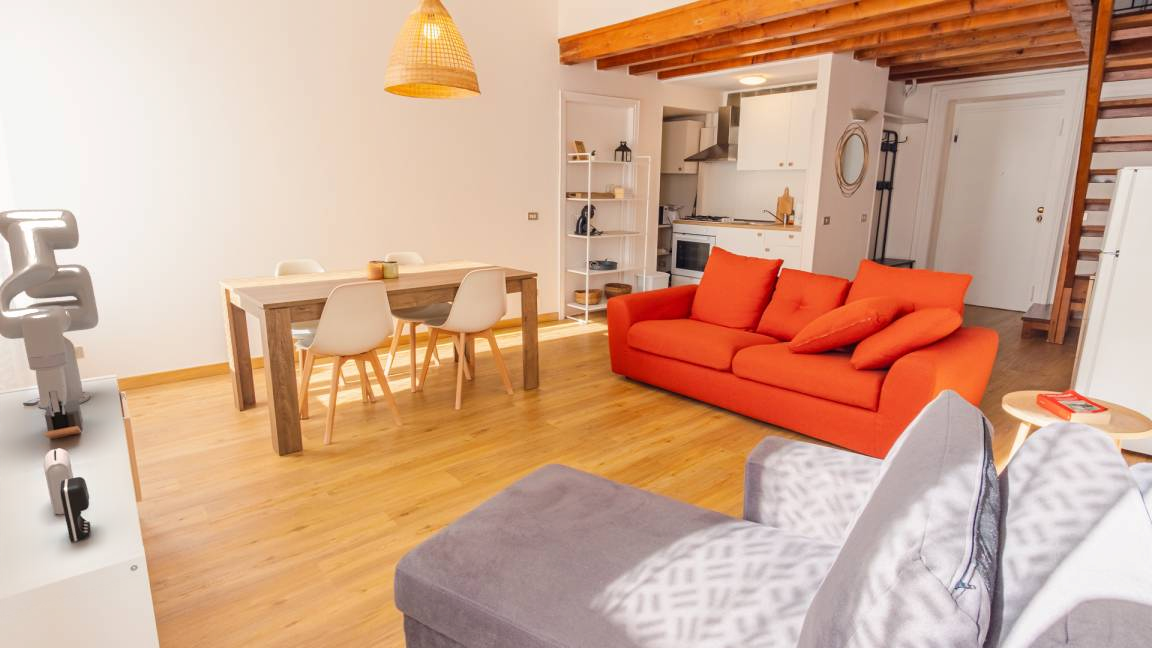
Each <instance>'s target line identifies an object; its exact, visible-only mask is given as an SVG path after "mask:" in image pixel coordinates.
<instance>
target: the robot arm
mask: <svg viewBox="0 0 1152 648" xmlns="http://www.w3.org/2000/svg"><path fill="white" fill-rule="evenodd" d="M78 228H79V227H78V222H77V219H76V216H75V215H74V214H73V212H71V211H70V210H69V209H68V210H67V209H63V208H62V209H61V208H59V209H58V208H56V209H15V210H14V209H13V210H6V211H5V210H4V211H1V212H0V235H1V236H2V237H3V239H4V240H5V241H6V242H7V243H8V246H9V248H8V249H9V254H10V259H11V261H10V262H11V267H12V273H11V274H10V275H9V276H8V277H7V278H6V279H4V281H3V282H2V283H1V284H0V335H1V336H2V338H3V337H4V338H6V339H10V340H15V339H23V343H24V347H25V352H26V357H27V362H28V366H29V370H30V371H35V378H36V384H37V389H38V394H39V401H38V402H37V407H38V408H40V409H43V410H44V409H45V410H46V407H47V406H48V405H49V406H50V411H51V420H52V425H53V429H54V430H58V429H64V428H69V427H70V424H69V419H68V414H67V412H66V409H65V404H66V402H68V401H74V400H79V404H80V405H81V404H83V403H84V402H86V401H88V400H89V399H90V397H91V394H90V393H89V392H87V391H84V390H83V386H82V381H81V376H80V369H79V364H78V359H77V353H76V348H75V346H74V344H73V342H72V341H71V340H70V339H69V338H67V337H66V336H64V333H69V332H76V331H83V330H84V331H85V330H90V329H93V328H94V329H95V328H96V327H97V326H98V324H99V312H98V307H97V301H96V296H95V292H94V287H93V281H92V277H91V274H90V272H89V270H88V269H87V267H86V266H84V265H81V264H76V263H75V264H58V263H57V260H56V256H55V250H57V251H58V250H59V251H60V250H73V249H75V248H76V247H78V245H79V243H80V242H79V240H80V239H79V237H80V236H79V229H78ZM23 292H24V293H25V294H26V296H27V297H29V298H31V299H54V298H65V297H66V298H67V297H74V298H76V299H67V300H56V301H44V302H37V303H36V302H35V303H33V304H30V305H28V306H26V307H21V308H11V309H10V305H11V302H12V301H13V299H14V298H16V297H17V296H18V295H19V294H21V293H23Z"/></svg>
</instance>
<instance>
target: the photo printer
mask: <svg viewBox="0 0 1152 648" xmlns="http://www.w3.org/2000/svg"><path fill="white" fill-rule="evenodd" d="M43 467H44V468H43V469H44V475H45V479H46V485H47V489H48V494H49V498H50V504H51V507H52V511H53V513H54V514H55V515H57V514H58V515H65V514H64V509H63V504H62V500H61V493H60V489H61V482H62V481H63V480H65V479H71V478H74V474H73V469H72V464H71V457H70V454H69V452H67V450H65V449H63V448H59V447H58V448H55V449H51V450H49V451H47V453H46V455H45V457H44V461H43Z"/></svg>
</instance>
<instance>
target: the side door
mask: <svg viewBox="0 0 1152 648" xmlns="http://www.w3.org/2000/svg"><path fill="white" fill-rule="evenodd" d="M79 434H82V431H81V430H80V428H79V427H78V426H75V427H69V428H64V429H58V430H53V431H48V430H47V431H44V436H45V437H47V438H48V439H49V440H54V439H59V438H64V437H69V436H74V435H79Z"/></svg>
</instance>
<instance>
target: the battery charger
mask: <svg viewBox="0 0 1152 648" xmlns="http://www.w3.org/2000/svg"><path fill="white" fill-rule="evenodd" d="M88 489H89V488H88V486H87V483H86V480H85V478H83V477H81V476H76V477H73V478H71V479H65V480H63V481H62V482H61V489H60V493H61V500H62V504H63V509H64V514H63V515H64V518H65V519H64V520H65V523H66V526H67V532H68V537H69V541H70V542H71V543H73V542H78V541H80V540H84V539H86V538H88V537H90V535H91V522H90V521H87V520H86V519H85V518H83V516H82V512H83V511H86V510H88V509H89V505H90V494H89V490H88Z"/></svg>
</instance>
